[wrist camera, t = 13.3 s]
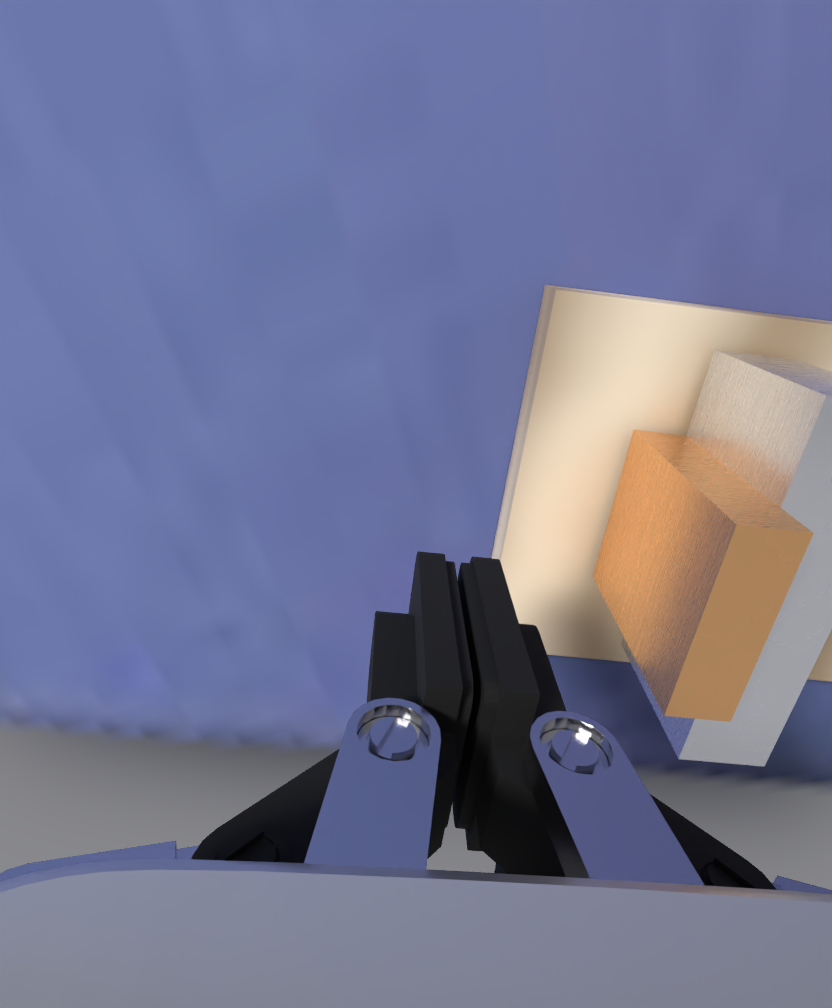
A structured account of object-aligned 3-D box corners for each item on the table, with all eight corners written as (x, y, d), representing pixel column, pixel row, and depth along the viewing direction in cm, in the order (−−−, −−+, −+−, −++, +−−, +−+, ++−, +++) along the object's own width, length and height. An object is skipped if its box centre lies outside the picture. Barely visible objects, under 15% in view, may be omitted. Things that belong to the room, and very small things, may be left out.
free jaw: (797, 360, 17) (990, 427, 11) (688, 649, 21) (789, 804, 15) (658, 342, 17) (782, 402, 11) (575, 638, 21) (635, 792, 15)
